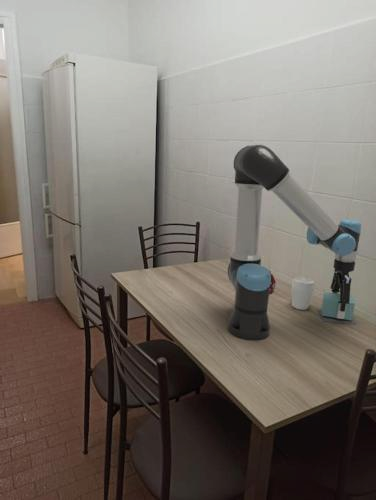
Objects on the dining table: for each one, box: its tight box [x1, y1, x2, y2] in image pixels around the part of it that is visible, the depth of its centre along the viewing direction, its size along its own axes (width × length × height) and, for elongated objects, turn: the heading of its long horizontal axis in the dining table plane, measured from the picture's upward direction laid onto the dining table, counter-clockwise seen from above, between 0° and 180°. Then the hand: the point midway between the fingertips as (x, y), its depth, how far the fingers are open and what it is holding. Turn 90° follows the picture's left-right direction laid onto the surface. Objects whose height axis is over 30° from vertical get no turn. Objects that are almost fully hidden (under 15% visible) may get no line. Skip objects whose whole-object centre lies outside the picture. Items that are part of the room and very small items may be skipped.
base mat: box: [316, 307, 357, 325], centre depth 147 cm, size 12×12×1 cm
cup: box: [291, 276, 315, 310], centre depth 154 cm, size 9×9×12 cm
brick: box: [321, 291, 356, 320], centre depth 146 cm, size 9×11×7 cm
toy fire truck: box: [268, 269, 277, 295], centre depth 170 cm, size 7×12×10 cm, turn 96°
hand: (336, 312), depth 147 cm, fingers closed on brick, 10 cm apart
